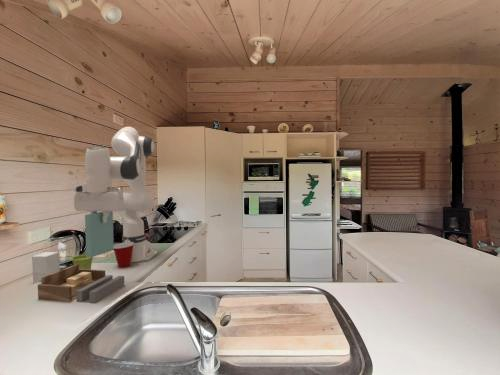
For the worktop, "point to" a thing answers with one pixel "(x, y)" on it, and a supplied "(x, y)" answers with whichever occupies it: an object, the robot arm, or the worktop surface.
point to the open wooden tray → (63, 283)
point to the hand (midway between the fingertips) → (100, 222)
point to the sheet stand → (99, 289)
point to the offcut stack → (79, 281)
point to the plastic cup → (123, 254)
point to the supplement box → (45, 265)
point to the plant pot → (82, 261)
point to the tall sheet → (98, 234)
